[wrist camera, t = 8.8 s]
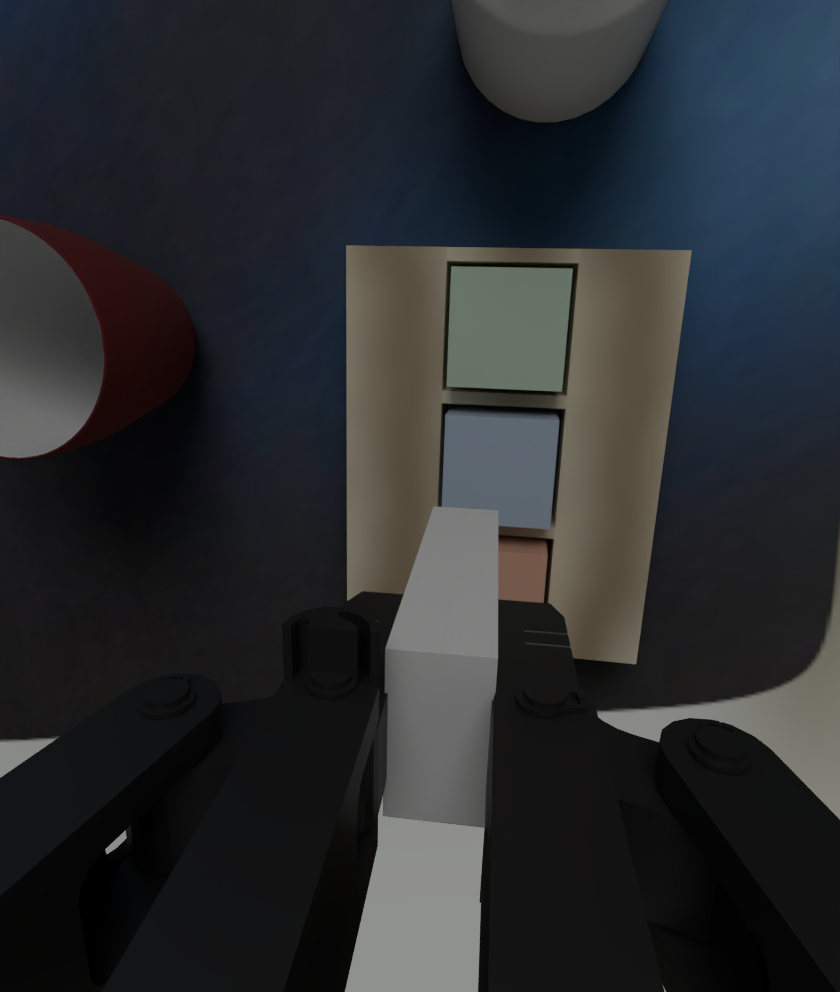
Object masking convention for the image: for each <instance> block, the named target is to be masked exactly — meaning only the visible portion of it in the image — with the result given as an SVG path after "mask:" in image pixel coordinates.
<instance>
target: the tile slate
mask: <svg viewBox="0 0 840 992" xmlns="http://www.w3.org/2000/svg"><path fill="white" fill-rule="evenodd" d="M558 432H559V418H558V416H557V414H556V412H555V410H538V409H517V408H495V407H474V406H452V407H451V408H450V410H449V411H448V412H447V413H446V415H445V437H444V462H443V487H442V507H451V508H468V509H484V510H498V526H508V527H522V528H536V529H550V523H551V512H552V500H553V489H554V477H555V466H556V455H557V443H558Z"/></svg>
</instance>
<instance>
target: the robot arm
mask: <svg viewBox="0 0 840 992" xmlns="http://www.w3.org/2000/svg"><path fill="white" fill-rule="evenodd" d="M282 633H283V660H284V680H283V682H282V684H281V686H280V687H279V689H278V691H277V692H276V694H275V696H271V697H268V698H263V699H258V700H252V701H243V702H233V703H224V704H222V701H221V690H220V689H219V687H218V686H217V685H216V683H215V682H214V681H212V680H210V679H208V678H205V677H203V676H200V675H192V674H175V675H173V674H169V675H163V676H160V677H158V678H154V679H151V680H147V681H144V682H142V683H140V684H138V685H137V686H135V687H133V688H131V689H129V690H127V691H126V692H124V693H123V694H121V695H120V696H118V697H117V698H116V699H114V700H113V701H111V702H110V703H108V704H107V705H105V706H104V707H102V708H101V709H100V710H98V711H97V712H95V713H94V714H92V715H91V716H89V717H88V718H87V719H85V720H84V721H82V722H81V723H79V724H78V725H76V726H75V727H74V728H72V729H71V730H69V731H68V732H66V733H65V734H63V735H62V736H60V737H59V738H58V739H56V740H55V741H53V742H52V743H50V744H49V745H47V746H46V747H45V748H43V749H42V750H40V751H39V752H37V753H36V754H34V755H33V756H32V757H30V758H29V759H27V760H26V761H25V762H23V763H22V764H20V765H19V766H17V767H16V768H14V769H13V770H11V771H10V772H8V773H7V774H5V775H4V776H3V777H1V778H0V992H345V988H346V983H347V978H348V975H349V970H350V966H351V961H352V957H353V952H354V948H355V943H356V939H357V934H358V930H359V926H360V921H361V917H362V912H363V908H364V903H365V899H366V894H367V890H368V886H369V881H370V877H371V872H372V868H373V863H374V858H375V855H376V850H377V846H378V845H377V844H378V813H379V809H380V805H381V801H382V796H383V816H388V817H397V818H405V819H414V820H423V821H431V822H440V823H449V824H458V825H467V826H475V827H484V828H485V831H484V846H483V860H482V875H481V891H480V902H481V923H480V955H479V983H478V984H479V985H478V992H664V988H665V990H666V992H840V820H839V819H838V818H837V816H836V815H835V814H834V813H833V812H832V811H831V810H830V809H829V808H828V807H827V806H826V805H825V804H824V803H823V802H822V801H821V800H820V799H819V798H818V797H817V796H816V795H815V794H814V793H813V792H812V791H811V790H810V789H809V788H808V787H807V786H806V785H805V784H804V783H803V782H802V781H801V780H800V779H799V778H798V777H797V776H796V775H795V774H794V772H793V771H792V770H791V769H790V768H789V767H788V766H787V765H786V764H785V763H784V762H783V761H782V760H781V759H780V758H779V757H778V756H777V755H776V754H775V753H774V752H773V751H772V750H771V749H770V748H768V747H767V746H766V745H765V744H763V743H762V742H761V741H759V740H758V739H757V738H756V737H754V736H752V735H750V734H748V733H746V732H744V731H742V730H740V729H738V728H736V727H734V726H732V725H729V724H726V723H723V722H722V723H720V722H719V721H714V720H707V719H693V718H689V719H683V720H679V721H674V722H672V723H670V724H669V725H668V726H666V727H665V728H664V729H662V732H661V737H660V742H656V741H652V740H649V739H646V738H642V737H639V736H636V735H633V734H630V733H627V732H624V731H622V730H619V729H617V728H615V727H613V726H611V725H609V724H607V723H605V722H604V721H602V720H601V719H600V718H598V715H597V711H596V707H595V705H594V704H593V702H592V700H591V698H590V697H589V695H587V694H586V693H585V692H584V691H582V690H581V689H580V687H579V683H578V678H577V673H576V669H575V664H574V660H573V655H572V650H571V648H570V641H569V636H568V635H567V633H568V632H567V627H566V623H565V618H564V616H563V615H562V614H561V613H560V612H559V611H557V610H556V609H555V608H554V607H553V606H552V605H551V604H550V603H539V602H525V601H512V600H499V599H498V510H484V509H468V508H451V507H435V506H434V507H433V510H432V513H431V516H430V519H429V522H428V524H427V527H426V530H425V533H424V536H423V539H422V542H421V545H420V548H419V551H418V554H417V557H416V560H415V563H414V566H413V569H412V571H411V574H410V577H409V580H408V583H407V586H406V589H405V592H404V594H394V593H380V592H367V591H362V592H361V593H359V594H357V595H356V596H354V597H353V598H351V599H350V600H348V601H347V602H345V604H344V606H343V607H322V608H316V609H311V610H306V611H304V612H301V613H299V614H297V615H294V616H292V617H291V618H289V619H288V620H287V621H286V622H285V623H284V624H283V625H282ZM125 830H126V836H127V839H126V840H125V841H124V842H123V843H122V844H120V845H119V846H118V848H116V849H115V850H113V851H112V852H110V853H109V854H106V852H105V849H106V848H107V847H108V846H109V845H110V844H111V843H112V842H113V841H114V840H115V839H116V838H117V837H119V836H120V835H121V834H122V833H123V832H124V831H125ZM663 986H664V988H663Z"/></svg>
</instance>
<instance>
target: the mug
mask: <svg viewBox="0 0 840 992" xmlns="http://www.w3.org/2000/svg"><path fill="white" fill-rule="evenodd" d="M195 350H196V335H195V330H194V326H193V322H192V320H191V317H190V315H189V312H188V310H187V309H186V307H185V305H184V303H183V302H182V300H181V299H180V297H179V296H178V295H177V293H176V292H175V291H174V290H173V288H172V287H171V286H170V285H169V284H168V283H167V282H166V281H164V280H163V279H162V278H161V277H160V276H158V275H157V274H156V273H154V272H153V271H151V270H149V269H148V268H146V267H144V266H142V265H141V264H139V263H137V262H134V261H132V260H130V259H128V258H126V257H124V256H122V255H120V254H118V253H116V252H114V251H112V250H110V249H108V248H106V247H104V246H102V245H100V244H98V243H96V242H93V241H91V240H89V239H87V238H85V237H82V236H80V235H78V234H76V233H73V232H70V231H68V230H65V229H62V228H58V227H55V226H52V225H48V224H44V223H39V222H34V221H29V220H24V219H19V218H14V217H8V216H2V215H0V458H2V459H10V460H27V459H36V458H41V457H46V456H50V455H54V454H58V453H63V452H66V451H70V450H74V449H77V448H81V447H84V446H87V445H90V444H93V443H95V442H98V441H100V440H102V439H105V438H107V437H109V436H111V435H113V434H114V433H116V432H118V431H119V430H121V429H123V428H125V427H126V426H128V425H129V424H131V423H133V422H134V421H136V420H138V419H139V418H141V417H142V416H144V415H146V414H147V413H149V412H151V411H152V410H154V409H155V408H157V407H159V406H160V405H162V404H163V403H165V402H166V401H167V400H169V399H170V398H171V397H172V396H173V395H174V394H175V393H176V392H177V391H178V390H179V389H180V388H181V386H182V385H183V383H184V382H185V380H186V378H187V376H188V375H189V372H190V370H191V367H192V364H193V361H194V357H195Z"/></svg>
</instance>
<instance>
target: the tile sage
mask: <svg viewBox="0 0 840 992" xmlns="http://www.w3.org/2000/svg"><path fill="white" fill-rule="evenodd" d="M572 273H573V269H570V268H515V267H460V266H451V284H450V310H449V335H448V361H447V386H446V387H467V388H490V389H513V390H536V391H559V392H562V386H563V375H564V364H565V352H566V341H567V329H568V318H569V307H570V295H571V284H572Z"/></svg>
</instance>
